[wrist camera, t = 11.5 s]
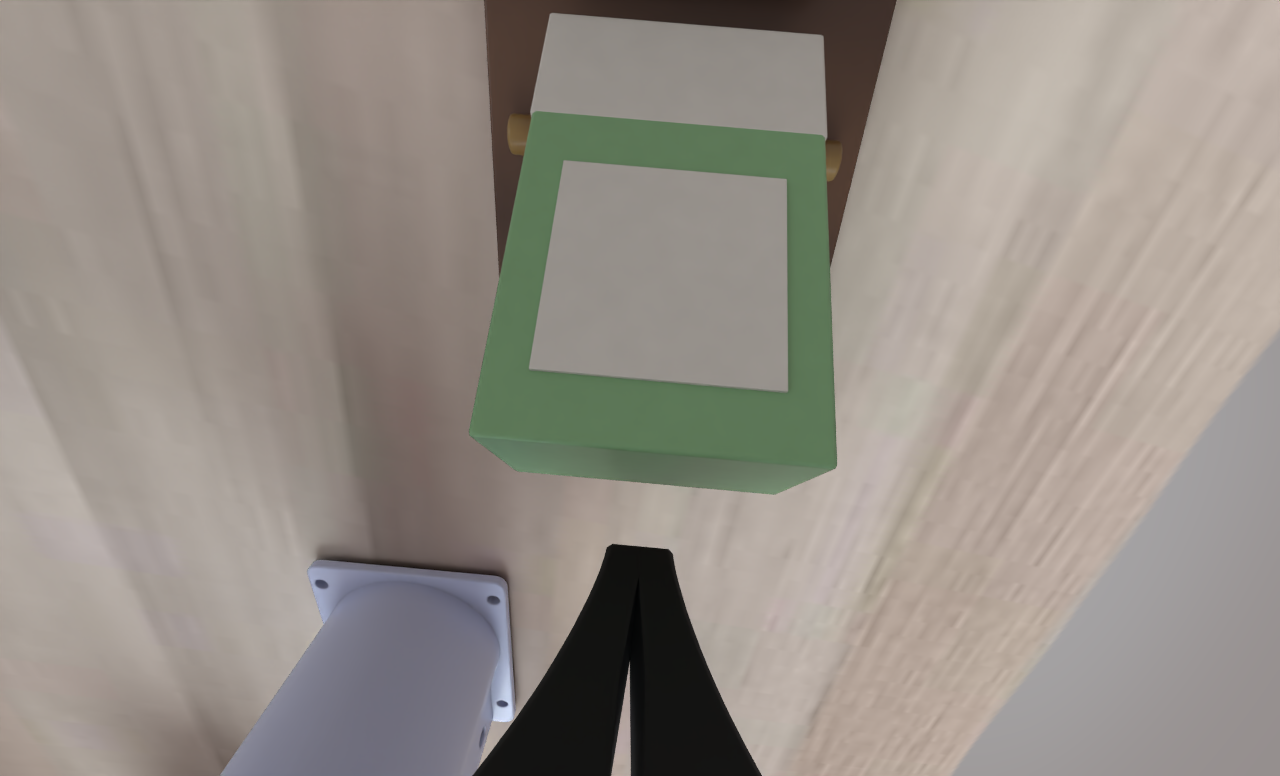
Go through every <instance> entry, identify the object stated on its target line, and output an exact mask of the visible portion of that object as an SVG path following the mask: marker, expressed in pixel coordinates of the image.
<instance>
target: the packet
mask: <svg viewBox="0 0 1280 776" xmlns="http://www.w3.org/2000/svg"><path fill="white" fill-rule="evenodd" d="M530 113H531V122H530V127H529V132H528V137H527V142H526V147H525V152H524V157H523V162H522V167H521V172H520V177H519V182H518V187H517V192H516V197H515V202H514V207H513V212H512V217H511V222H510V227H509V232H508V237H507V242H506V247H505V253H504V258H503V263H502V268H501V273H500V278H499V283H498V288H497V293H496V298H495V303H494V308H493V313H492V318H491V323H490V328H489V333H488V338H487V343H486V348H485V353H484V358H483V363H482V368H481V373H480V378H479V383H478V388H477V393H476V398H475V403H474V408H473V413H472V418H471V423H470V428H469V434H470V436H471V437H472V438H474V439H475V440H476V441H478V442H479V443H480V444H481V445H483V446H484V447H485V448H487V449H488V450H489V451H491V452H492V453H493V454H495V455H496V456H497V457H499V458H500V459H501V460H503V461H504V462H505V463H506V464H508V465H509V466H510V467H512V468H513V469H514V470H516V471H519V472H530V473H541V474H552V475H563V476H575V477H586V478H597V479H608V480H619V481H630V482H641V483H652V484H663V485H674V486H685V487H696V488H707V489H718V490H729V491H740V492H751V493H762V494H773V495H774V494H777V493H780V492H782V491H784V490H787V489H789V488H791V487H794V486H796V485H798V484H801V483H803V482H805V481H808V480H810V479H812V478H815V477H817V476H819V475H821V474H824V473H826V472H828V471H831V470H833V469H835V468H836V466H837V449H836V422H835V395H834V367H833V340H832V312H831V285H830V258H829V230H828V203H827V176H826V148H825V141H826V139H827V113H826V87H825V61H824V37H823V36H822V35H817V34H804V33H792V32H780V31H768V30H756V29H743V28H731V27H719V26H707V25H695V24H682V23H670V22H658V21H646V20H634V19H621V18H609V17H597V16H585V15H573V14H560V13H551V14H550V16H549V21H548V26H547V31H546V36H545V41H544V46H543V51H542V56H541V61H540V66H539V71H538V76H537V81H536V86H535V91H534V96H533V101H532V106H531V111H530Z"/></svg>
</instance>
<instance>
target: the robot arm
mask: <svg viewBox="0 0 1280 776" xmlns="http://www.w3.org/2000/svg"><path fill="white" fill-rule="evenodd" d="M307 574H308V577H309V580H310V583H311V586H312V589H313V592H314V596H315V599H316V602H317V605H318V608H319V611H320V614H321V618H322V621H323V624H324V625H323V626H322V628H321V629H320V631H319V632H318V634H317V635H316V637H315V638H314V640H313V641H312V642H311V644H310V645H309V647H308V648H307V650H306V651H305V653H304V654H303V655H302V657H301V658H300V660H299V661H298V663H297V664H296V666H295V667H294V669H293V670H292V671H291V673H290V674H289V676H288V677H287V679H286V680H285V682H284V683H283V684H282V686H281V687H280V689H279V690H278V692H277V693H276V695H275V696H274V698H273V699H272V700H271V702H270V703H269V705H268V706H267V708H266V709H265V711H264V712H263V713H262V715H261V716H260V718H259V719H258V721H257V722H256V724H255V725H254V727H253V728H252V729H251V731H250V732H249V734H248V735H247V737H246V738H245V740H244V741H243V742H242V744H241V745H240V747H239V748H238V750H237V751H236V753H235V754H234V755H233V757H232V758H231V760H230V761H229V763H228V764H227V766H226V767H225V769H224V770H223V771H222V773H221V774H220V776H611V773H612V766H613V760H614V754H615V748H616V742H617V736H618V730H619V724H620V717H621V711H622V705H623V699H624V693H625V687H626V681H627V674H628V668H629V662H630V727H631V776H762V775H761V773H760V772H759V770H758V768H757V766H756V764H755V762H754V760H753V759H752V757H751V755H750V753H749V751H748V749H747V748H746V746H745V744H744V742H743V740H742V738H741V736H740V734H739V732H738V730H737V728H736V726H735V724H734V722H733V720H732V718H731V716H730V714H729V712H728V710H727V708H726V706H725V704H724V702H723V700H722V697H721V695H720V693H719V691H718V689H717V687H716V684H715V682H714V680H713V677H712V675H711V673H710V670H709V668H708V666H707V663H706V661H705V658H704V656H703V653H702V651H701V649H700V646H699V643H698V640H697V638H696V635H695V632H694V630H693V627H692V624H691V621H690V619H689V616H688V613H687V610H686V607H685V603H684V600H683V597H682V593H681V590H680V586H679V583H678V579H677V575H676V570H675V565H674V559H673V554H672V553H671V552H670V550H669V549H660V548H649V547H639V546H628V545H617V544H612V545H610V546H609V547H607V549H606V553H605V557H604V560H603V563H602V566H601V569H600V571H599V574H598V576H597V579H596V581H595V583H594V586H593V588H592V590H591V592H590V595H589V597H588V599H587V601H586V603H585V605H584V607H583V609H582V611H581V613H580V615H579V617H578V619H577V621H576V623H575V625H574V626H573V628H572V630H571V632H570V634H569V636H568V637H567V639H566V641H565V642H564V644H563V646H562V647H561V649H560V651H559V653H558V654H557V656H556V658H555V659H554V661H553V663H552V664H551V666H550V668H549V669H548V671H547V673H546V674H545V676H544V677H543V679H542V680H541V682H540V684H539V685H538V687H537V688H536V690H535V691H534V693H533V694H532V696H531V697H530V699H529V700H528V702H527V703H526V704H525V706H524V707H523V709H522V710H521V712H520V713H519V715H518V716H517V717H516V719H515V720H514V722H513V723H512V724H511V726H510V727H509V728H508V730H507V731H506V732H505V734H504V735H503V736H502V738H501V739H500V740H499V742H498V743H497V745H496V746H495V747H494V749H493V750H492V751H491V753H490V754H489V755H488V756H487V758H486V759H485V760H484V762H483V763H482V764H481V765H480V767H479V768H478V766H479V763H480V759H481V756H482V753H483V749H484V746H485V743H486V739H487V736H488V732H489V729H490V726H491V722H492V721H500V722H508V721H511V720H512V719H513V718H514V715H515V711H516V706H515V691H514V676H513V661H512V645H511V630H510V615H509V600H508V585H507V582H506V581H505V580H504V579H503V578H501V577H499V576H493V575H482V574H471V573H461V572H450V571H439V570H428V569H417V568H407V567H396V566H385V565H374V564H363V563H352V562H342V561H331V560H316V561H314V562H313V563H312V564H311V566H310V567H309V568H308V570H307Z"/></svg>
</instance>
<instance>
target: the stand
mask: <svg viewBox="0 0 1280 776" xmlns="http://www.w3.org/2000/svg"><path fill="white" fill-rule="evenodd" d="M896 1H897V0H484V4H485V23H486V41H487V60H488V78H489V96H490V115H491V133H492V151H493V170H494V188H495V206H496V225H497V243H498V261H499V278H500V273H501V268H502V263H503V258H504V253H505V247H506V242H507V237H508V232H509V227H510V222H511V217H512V212H513V207H514V202H515V197H516V192H517V187H518V182H519V177H520V172H521V167H522V162H523V157H524V152H525V147H526V142H527V137H528V132H529V127H530V122H531V113H530V111H531V106H532V101H533V96H534V91H535V86H536V81H537V76H538V71H539V66H540V61H541V56H542V51H543V46H544V41H545V36H546V31H547V26H548V21H549V16H550V14H551V13H560V14H573V15H585V16H597V17H609V18H621V19H634V20H646V21H658V22H670V23H682V24H695V25H707V26H719V27H731V28H743V29H756V30H768V31H780V32H792V33H804V34H817V35H822V36H823V37H824V61H825V87H826V113H827V139H826V141H825V148H826V176H827V203H828V230H829V258H830V266H831V262H832V258H833V254H834V250H835V246H836V242H837V238H838V234H839V230H840V226H841V222H842V218H843V214H844V210H845V206H846V202H847V198H848V194H849V190H850V186H851V182H852V178H853V174H854V169H855V165H856V161H857V157H858V153H859V149H860V145H861V141H862V137H863V133H864V129H865V125H866V121H867V117H868V113H869V109H870V105H871V101H872V97H873V93H874V89H875V85H876V81H877V77H878V73H879V69H880V65H881V61H882V57H883V53H884V49H885V45H886V41H887V37H888V33H889V29H890V25H891V21H892V17H893V13H894V9H895V5H896Z"/></svg>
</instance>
